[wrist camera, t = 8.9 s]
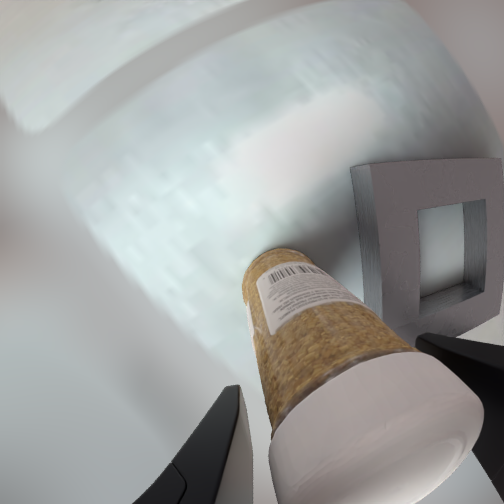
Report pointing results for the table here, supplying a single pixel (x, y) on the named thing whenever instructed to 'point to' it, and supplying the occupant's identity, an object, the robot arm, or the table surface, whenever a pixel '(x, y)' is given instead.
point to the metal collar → (407, 242)
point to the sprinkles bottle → (349, 393)
